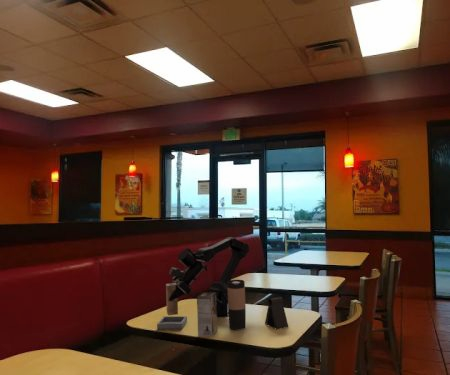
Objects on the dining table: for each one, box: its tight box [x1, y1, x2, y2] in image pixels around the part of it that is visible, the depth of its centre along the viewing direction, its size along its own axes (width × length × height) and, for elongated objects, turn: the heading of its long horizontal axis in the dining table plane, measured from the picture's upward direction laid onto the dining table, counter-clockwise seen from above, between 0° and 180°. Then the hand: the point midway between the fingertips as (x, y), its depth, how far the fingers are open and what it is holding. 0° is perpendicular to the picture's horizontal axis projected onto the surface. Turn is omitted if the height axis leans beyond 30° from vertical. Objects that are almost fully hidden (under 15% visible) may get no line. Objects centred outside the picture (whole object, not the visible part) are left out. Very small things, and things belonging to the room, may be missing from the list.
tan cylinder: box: [165, 282, 179, 316], centre depth 171 cm, size 4×4×13 cm
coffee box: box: [196, 291, 218, 338], centre depth 160 cm, size 9×6×16 cm
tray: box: [156, 315, 188, 331], centre depth 171 cm, size 11×11×2 cm
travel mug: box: [227, 279, 247, 331], centre depth 166 cm, size 8×8×20 cm
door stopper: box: [264, 296, 289, 330], centre depth 167 cm, size 9×6×12 cm, turn 29°
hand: (168, 299), depth 171 cm, fingers closed on tan cylinder, 4 cm apart
